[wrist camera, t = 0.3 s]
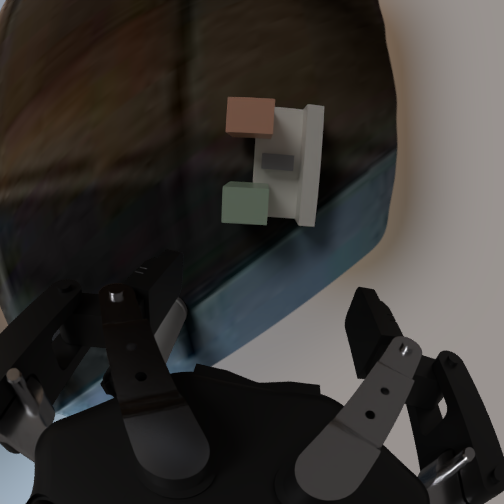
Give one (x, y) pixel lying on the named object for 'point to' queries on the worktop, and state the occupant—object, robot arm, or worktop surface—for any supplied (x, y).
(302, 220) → the console
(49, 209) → the worktop surface
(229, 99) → the terracotta rectangular block
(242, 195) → the green rectangular block
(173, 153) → the worktop surface
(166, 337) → the travel mug
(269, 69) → the worktop surface
